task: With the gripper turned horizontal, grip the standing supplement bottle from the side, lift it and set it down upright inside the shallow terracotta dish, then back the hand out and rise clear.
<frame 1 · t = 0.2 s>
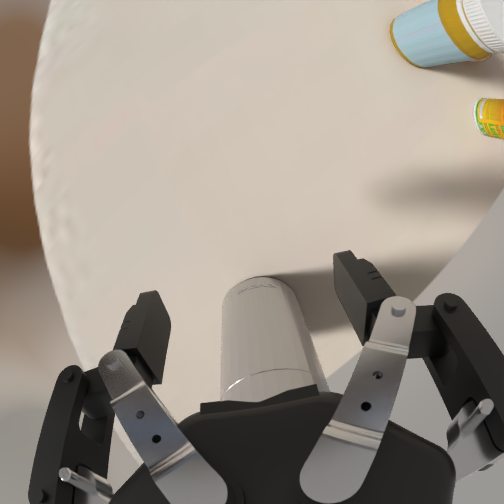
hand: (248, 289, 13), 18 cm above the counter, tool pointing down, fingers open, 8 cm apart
bottle: (411, 42, 22), on the counter
supplement bottle: (482, 116, 26), on the counter
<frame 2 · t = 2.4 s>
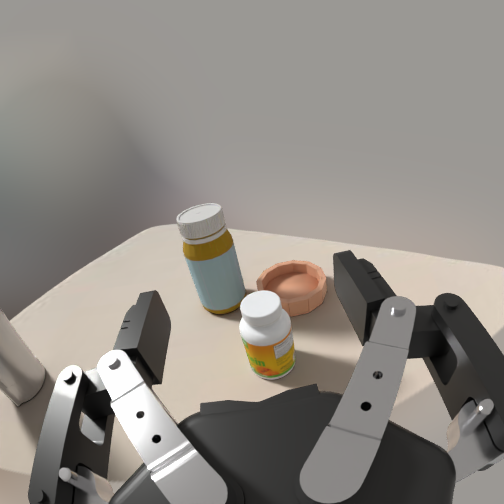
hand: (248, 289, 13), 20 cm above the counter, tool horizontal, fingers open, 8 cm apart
bottle: (225, 301, 45), on the counter
supplement bottle: (273, 363, 33), on the counter
terracotta dish: (292, 292, 43), on the counter
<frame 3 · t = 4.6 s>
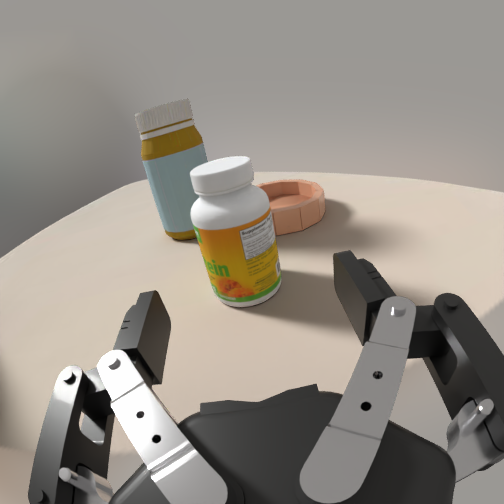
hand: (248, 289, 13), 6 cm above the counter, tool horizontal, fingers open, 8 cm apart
bottle: (194, 228, 35), on the counter
supplement bottle: (248, 288, 23), on the counter
terracotta dish: (280, 214, 33), on the counter
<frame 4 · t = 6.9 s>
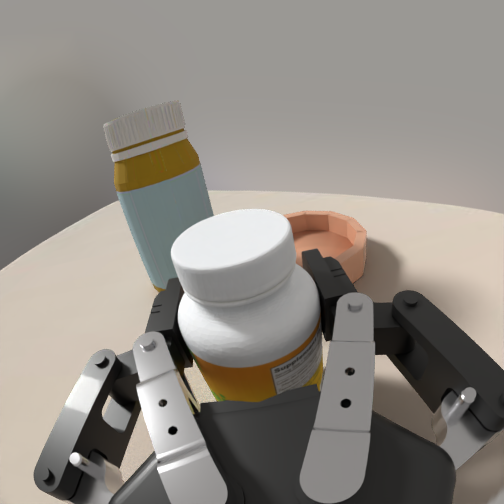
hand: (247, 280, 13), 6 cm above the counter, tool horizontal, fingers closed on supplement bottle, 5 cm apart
bottle: (191, 278, 26), on the counter
supplement bottle: (272, 398, 14), on the counter, touching gripper
terracotta dish: (307, 261, 25), on the counter
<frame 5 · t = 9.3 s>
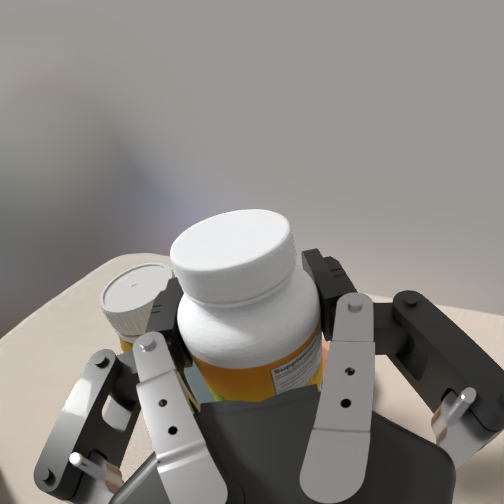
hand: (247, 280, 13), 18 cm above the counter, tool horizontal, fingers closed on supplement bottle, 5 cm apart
bottle: (197, 396, 27), on the counter
supplement bottle: (272, 399, 14), point 11 cm above the counter, touching gripper
when the fingers open (8 cm above the counter, at t = 12.1 s): supplement bottle drops 1 cm, resting on terracotta dish.
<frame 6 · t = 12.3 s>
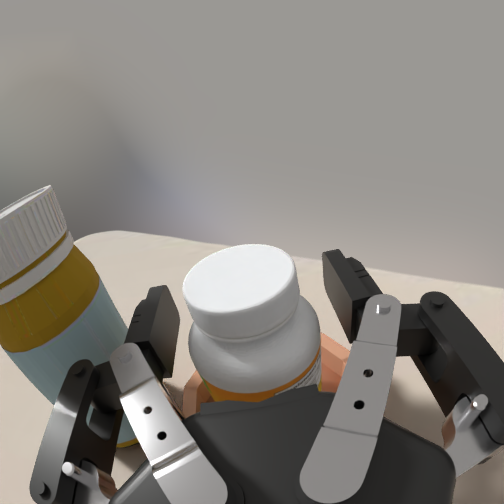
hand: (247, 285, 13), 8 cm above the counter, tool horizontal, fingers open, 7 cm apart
bottle: (127, 411, 17), on the counter
supplement bottle: (274, 411, 15), point 1 cm above the counter, touching terracotta dish
terracotta dish: (277, 414, 15), on the counter
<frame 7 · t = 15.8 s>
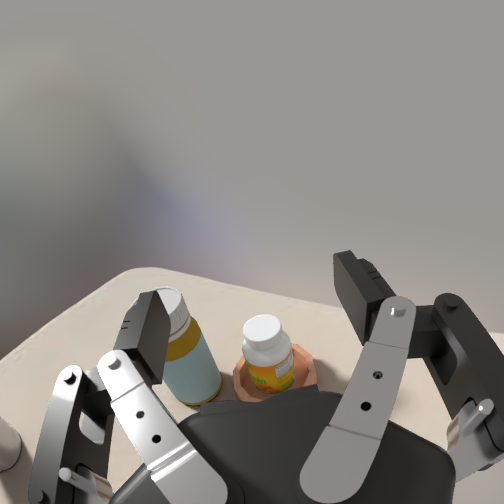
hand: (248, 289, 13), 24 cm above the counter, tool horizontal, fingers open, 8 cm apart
bottle: (199, 387, 35), on the counter
supplement bottle: (274, 380, 34), point 1 cm above the counter, touching terracotta dish
terracotta dish: (276, 382, 34), on the counter
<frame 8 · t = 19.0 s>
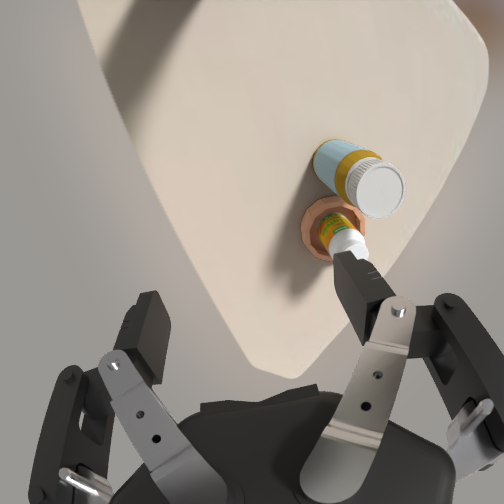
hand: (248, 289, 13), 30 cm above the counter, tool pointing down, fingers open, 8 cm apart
bottle: (333, 161, 40), on the counter
supplement bottle: (331, 226, 45), point 1 cm above the counter, touching terracotta dish
terracotta dish: (330, 225, 45), on the counter
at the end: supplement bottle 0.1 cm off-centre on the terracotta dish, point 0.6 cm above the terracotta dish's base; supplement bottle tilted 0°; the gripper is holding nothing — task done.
